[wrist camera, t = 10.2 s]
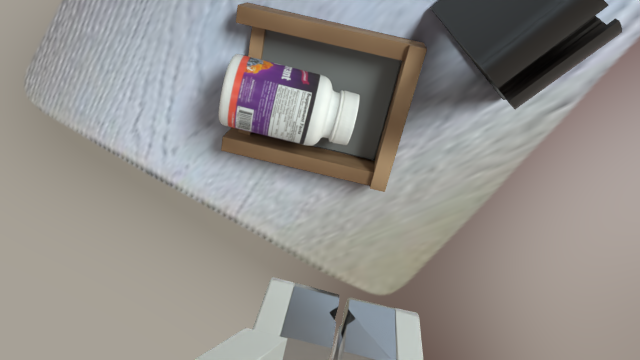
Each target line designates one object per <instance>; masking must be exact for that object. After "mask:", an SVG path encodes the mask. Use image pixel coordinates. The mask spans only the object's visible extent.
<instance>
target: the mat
mask: <svg viewBox="0 0 640 360" xmlns="http://www.w3.org/2000/svg"><path fill="white" fill-rule="evenodd" d="M262 60H265V61H268V62H272V63H276V64H280V65H284V66H288V67H292V68H296V69H300V70H304V71H308V72H312V73H316V74H319V75H322V76H325V77H327V78H328V79H329V80H330V81H331V84H332V89H333V91H335V92H338V93H340V91H341V90H343V91H348V92H352V93H356V94H359V107H358V113H357V117H356V121H355V125H354V129H353V132H352V135H351V138H350V140H349V142H348V144H347V145H342V144H337V143H332V141H331V142H329V138H325V137H322V138H320V140H319V141H318V142H317V143H316V144H314V146H318V147H322V148H326V149H331V150H335V151H339V152H343V153H348V154H352V155H356V156H360V157H364V158H369V159H373V160H374V157H375V154H376V150H377V146H378V143H379V139H380V136H381V132H382V128H383V125H384V121H385V117H386V114H387V110H388V107H389V103H390V99H391V96H392V92H393V88H394V85H395V81H396V77H397V74H398V70H399V67H400V63H401V60H397V59H393V58H389V57H384V56H380V55H375V54H371V53H367V52H362V51H358V50H354V49H349V48H345V47H341V46H336V45H332V44H328V43H323V42H319V41H314V40H310V39H306V38H301V37H297V36H293V35H288V34H284V33H280V32H275V31H271V30H266V35H265V42H264V49H263V56H262Z"/></svg>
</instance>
